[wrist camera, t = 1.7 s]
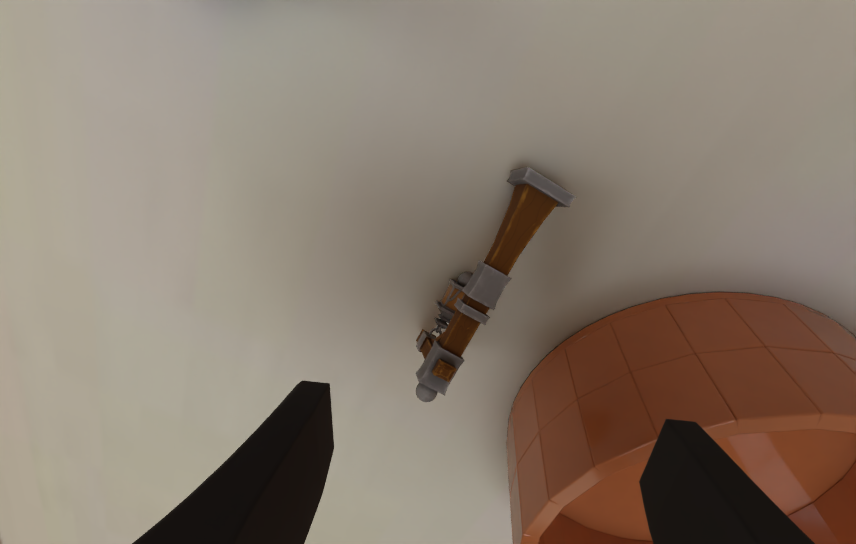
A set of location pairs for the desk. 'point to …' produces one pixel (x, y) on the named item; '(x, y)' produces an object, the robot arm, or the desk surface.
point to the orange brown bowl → (686, 415)
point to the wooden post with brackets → (484, 281)
